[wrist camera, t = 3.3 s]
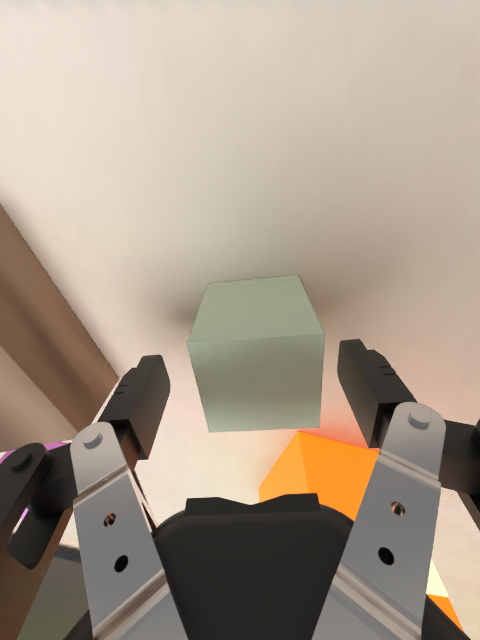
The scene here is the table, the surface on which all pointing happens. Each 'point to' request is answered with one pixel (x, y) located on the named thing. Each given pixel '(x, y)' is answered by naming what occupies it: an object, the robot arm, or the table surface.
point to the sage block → (258, 355)
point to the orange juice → (335, 486)
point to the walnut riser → (43, 354)
